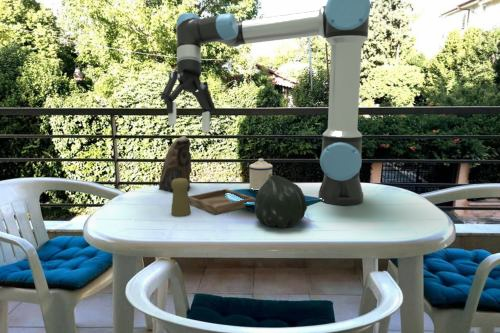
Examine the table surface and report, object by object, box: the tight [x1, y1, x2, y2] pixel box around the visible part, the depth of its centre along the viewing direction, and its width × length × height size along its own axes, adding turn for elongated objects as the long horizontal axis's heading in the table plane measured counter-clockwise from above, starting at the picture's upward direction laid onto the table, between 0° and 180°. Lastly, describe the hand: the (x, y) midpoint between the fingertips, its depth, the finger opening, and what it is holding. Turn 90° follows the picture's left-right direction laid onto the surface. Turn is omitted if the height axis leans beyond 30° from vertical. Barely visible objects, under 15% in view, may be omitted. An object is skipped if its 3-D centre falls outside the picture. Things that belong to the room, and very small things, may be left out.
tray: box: [188, 188, 256, 216], centre depth 127 cm, size 16×16×2 cm
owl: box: [158, 135, 193, 193], centre depth 145 cm, size 13×13×20 cm
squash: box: [254, 174, 308, 229], centre depth 108 cm, size 14×15×15 cm
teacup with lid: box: [248, 158, 274, 189], centre depth 148 cm, size 12×9×12 cm
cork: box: [170, 178, 192, 218], centre depth 117 cm, size 6×6×11 cm
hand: (189, 128), depth 118 cm, fingers open, 13 cm apart
